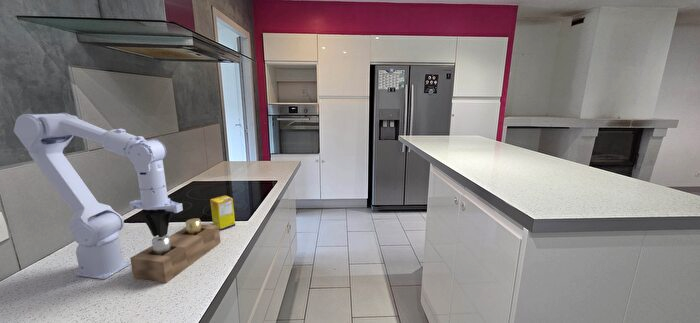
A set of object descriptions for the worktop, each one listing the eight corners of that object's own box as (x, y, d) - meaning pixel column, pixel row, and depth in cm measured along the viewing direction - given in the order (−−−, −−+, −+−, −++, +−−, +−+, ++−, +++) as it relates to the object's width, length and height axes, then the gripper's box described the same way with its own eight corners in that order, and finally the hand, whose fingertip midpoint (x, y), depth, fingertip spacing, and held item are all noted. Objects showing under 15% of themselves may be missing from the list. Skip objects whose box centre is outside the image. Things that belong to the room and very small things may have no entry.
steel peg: (151, 260, 76) (148, 241, 75) (163, 252, 80) (160, 234, 79) (163, 261, 76) (160, 242, 74) (175, 253, 79) (172, 235, 78)
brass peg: (184, 239, 88) (182, 222, 87) (194, 233, 92) (192, 217, 91) (196, 240, 87) (194, 223, 86) (205, 234, 91) (203, 218, 90)
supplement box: (227, 221, 111) (225, 194, 109) (235, 225, 107) (233, 198, 105) (212, 226, 107) (209, 198, 104) (220, 231, 103) (217, 202, 101)
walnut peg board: (133, 278, 75) (130, 257, 74) (194, 240, 96) (192, 223, 95) (166, 283, 73) (162, 261, 72) (220, 242, 94) (218, 225, 93)
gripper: (188, 184, 76) (194, 231, 79) (143, 181, 79) (150, 226, 82) (167, 191, 70) (174, 243, 72) (118, 188, 72) (127, 238, 75)
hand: (160, 235), depth 77 cm, fingers closed
